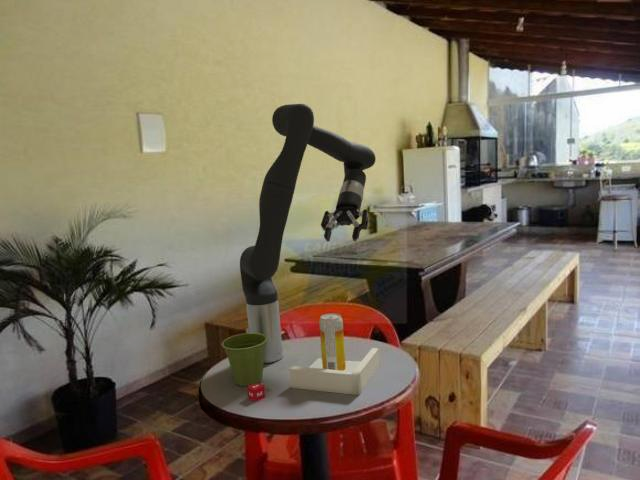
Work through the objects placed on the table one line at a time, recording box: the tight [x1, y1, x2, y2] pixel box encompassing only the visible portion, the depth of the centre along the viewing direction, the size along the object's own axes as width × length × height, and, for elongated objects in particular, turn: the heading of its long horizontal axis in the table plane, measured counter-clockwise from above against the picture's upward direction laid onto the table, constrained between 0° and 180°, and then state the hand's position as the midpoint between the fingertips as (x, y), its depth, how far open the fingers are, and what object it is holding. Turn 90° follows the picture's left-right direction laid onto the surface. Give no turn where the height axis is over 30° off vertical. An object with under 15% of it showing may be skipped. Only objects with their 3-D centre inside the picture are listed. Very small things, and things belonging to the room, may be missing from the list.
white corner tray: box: [289, 347, 381, 396], centre depth 131 cm, size 18×18×5 cm
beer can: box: [318, 312, 346, 371], centre depth 132 cm, size 6×6×15 cm
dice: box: [246, 382, 266, 402], centre depth 122 cm, size 3×3×3 cm
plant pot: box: [221, 332, 267, 387], centre depth 132 cm, size 12×12×11 cm
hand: (340, 239), depth 149 cm, fingers open, 8 cm apart
